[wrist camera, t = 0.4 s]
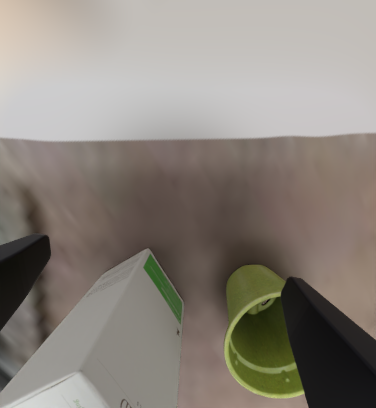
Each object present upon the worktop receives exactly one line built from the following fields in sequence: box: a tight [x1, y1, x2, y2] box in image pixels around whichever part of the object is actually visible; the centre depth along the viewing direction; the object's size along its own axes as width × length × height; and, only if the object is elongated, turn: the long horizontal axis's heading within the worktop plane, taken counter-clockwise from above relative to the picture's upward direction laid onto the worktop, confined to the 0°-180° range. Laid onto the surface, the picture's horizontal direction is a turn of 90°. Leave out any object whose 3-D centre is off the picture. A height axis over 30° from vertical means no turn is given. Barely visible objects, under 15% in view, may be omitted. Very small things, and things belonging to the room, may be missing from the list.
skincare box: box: [0, 248, 184, 408], centre depth 18 cm, size 8×7×16 cm
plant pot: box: [224, 265, 305, 398], centre depth 21 cm, size 9×9×9 cm
